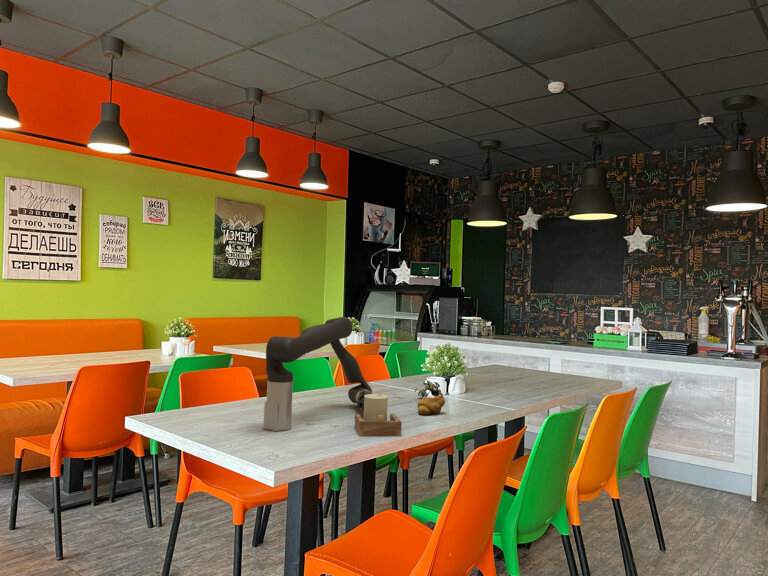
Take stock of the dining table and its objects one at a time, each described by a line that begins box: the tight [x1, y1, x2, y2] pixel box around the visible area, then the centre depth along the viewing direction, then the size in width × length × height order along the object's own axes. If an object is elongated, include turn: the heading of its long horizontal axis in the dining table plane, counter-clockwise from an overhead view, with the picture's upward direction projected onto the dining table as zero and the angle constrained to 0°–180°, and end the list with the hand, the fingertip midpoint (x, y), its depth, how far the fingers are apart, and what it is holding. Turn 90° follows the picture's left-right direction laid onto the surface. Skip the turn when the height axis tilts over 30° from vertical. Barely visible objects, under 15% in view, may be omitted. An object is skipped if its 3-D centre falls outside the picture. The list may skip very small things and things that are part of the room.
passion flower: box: [414, 379, 444, 399], centre depth 269 cm, size 11×11×12 cm
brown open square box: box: [354, 413, 403, 437], centre depth 202 cm, size 14×15×7 cm
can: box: [363, 393, 389, 421], centre depth 210 cm, size 9×9×12 cm
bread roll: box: [417, 395, 446, 416], centre depth 238 cm, size 13×10×8 cm
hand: (372, 408), depth 213 cm, fingers closed
